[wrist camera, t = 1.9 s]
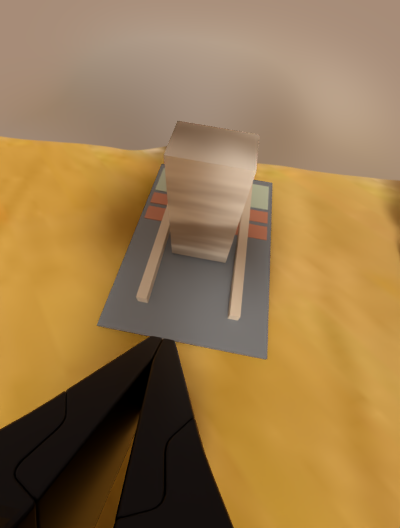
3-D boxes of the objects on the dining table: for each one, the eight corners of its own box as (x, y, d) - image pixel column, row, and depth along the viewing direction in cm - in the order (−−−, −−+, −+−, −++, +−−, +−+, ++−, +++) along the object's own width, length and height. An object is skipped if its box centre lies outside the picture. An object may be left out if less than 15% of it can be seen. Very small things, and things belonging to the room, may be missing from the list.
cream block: (225, 262, 25) (256, 171, 14) (172, 252, 25) (163, 154, 14) (229, 234, 27) (259, 134, 16) (179, 225, 27) (177, 120, 16)
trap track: (265, 359, 21) (277, 355, 18) (97, 325, 21) (85, 317, 19) (271, 184, 32) (279, 166, 30) (162, 165, 33) (160, 145, 30)
